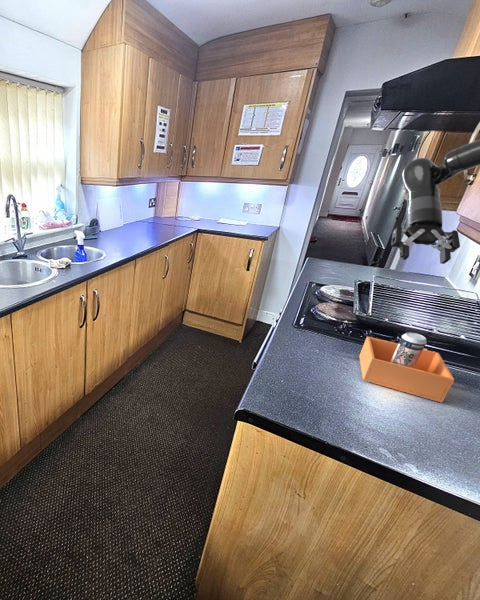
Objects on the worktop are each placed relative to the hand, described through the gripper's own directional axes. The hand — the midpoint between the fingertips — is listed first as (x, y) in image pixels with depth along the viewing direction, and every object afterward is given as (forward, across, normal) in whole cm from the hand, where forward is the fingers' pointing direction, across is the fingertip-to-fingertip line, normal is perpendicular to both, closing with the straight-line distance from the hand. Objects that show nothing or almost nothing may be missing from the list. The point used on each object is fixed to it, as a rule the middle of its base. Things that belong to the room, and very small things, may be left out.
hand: (424, 260), depth 94 cm
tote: (+35, -4, +6) cm, 35 cm away
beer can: (+34, -4, +6) cm, 35 cm away
